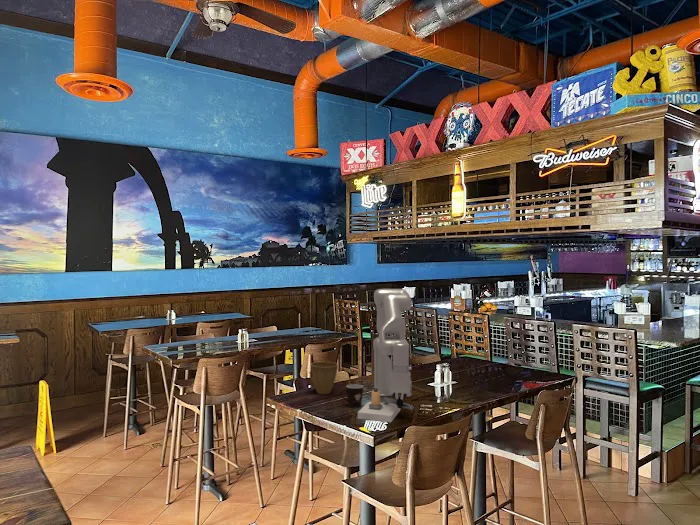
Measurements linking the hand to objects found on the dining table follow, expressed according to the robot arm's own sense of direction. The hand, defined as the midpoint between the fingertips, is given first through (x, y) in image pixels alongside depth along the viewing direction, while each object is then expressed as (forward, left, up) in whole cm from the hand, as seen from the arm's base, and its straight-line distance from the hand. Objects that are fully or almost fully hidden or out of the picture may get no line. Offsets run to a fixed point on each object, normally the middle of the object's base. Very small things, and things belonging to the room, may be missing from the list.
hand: (399, 407), depth 249 cm
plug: (-1, -12, -5) cm, 13 cm away
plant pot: (-29, -49, -5) cm, 57 cm away
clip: (-5, -2, -2) cm, 5 cm away
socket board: (-1, -10, -5) cm, 11 cm away
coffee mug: (-10, -27, -5) cm, 29 cm away
